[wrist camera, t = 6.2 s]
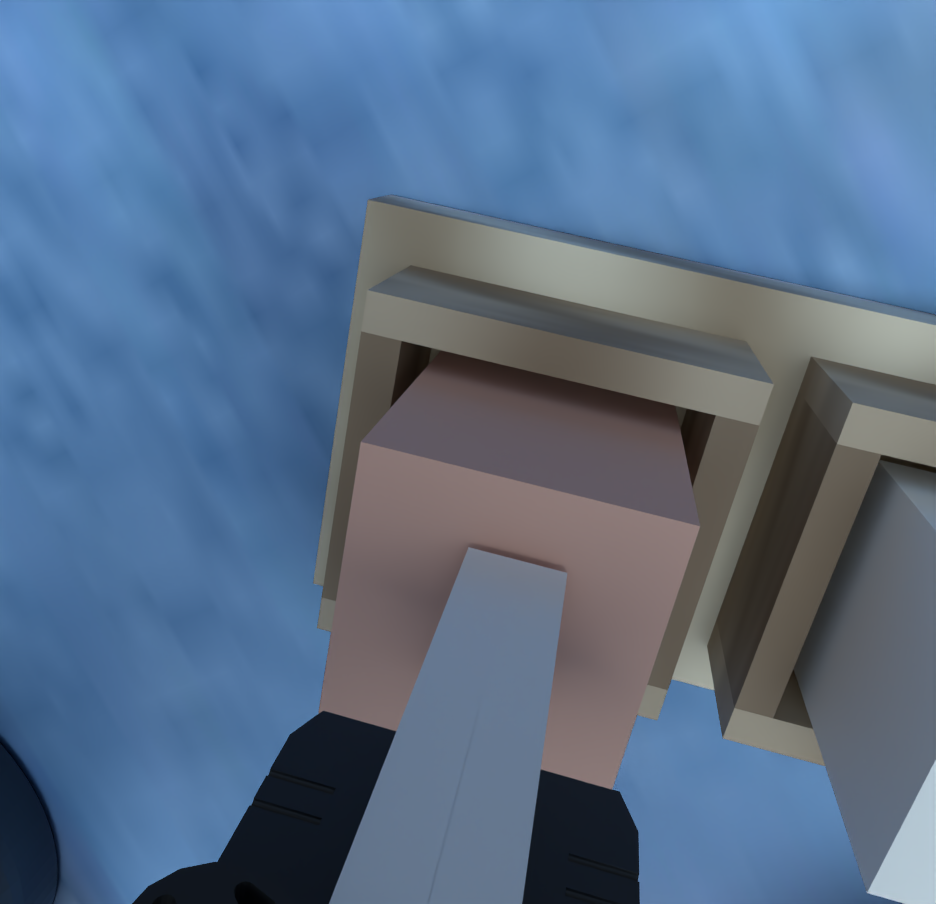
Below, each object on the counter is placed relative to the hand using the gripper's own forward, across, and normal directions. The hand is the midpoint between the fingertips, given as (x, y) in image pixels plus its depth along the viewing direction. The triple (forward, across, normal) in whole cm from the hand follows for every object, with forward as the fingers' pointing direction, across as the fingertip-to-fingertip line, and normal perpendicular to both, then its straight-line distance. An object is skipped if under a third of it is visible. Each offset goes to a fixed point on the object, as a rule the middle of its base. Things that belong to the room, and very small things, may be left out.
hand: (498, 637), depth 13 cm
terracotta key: (+6, 0, 0) cm, 6 cm away
